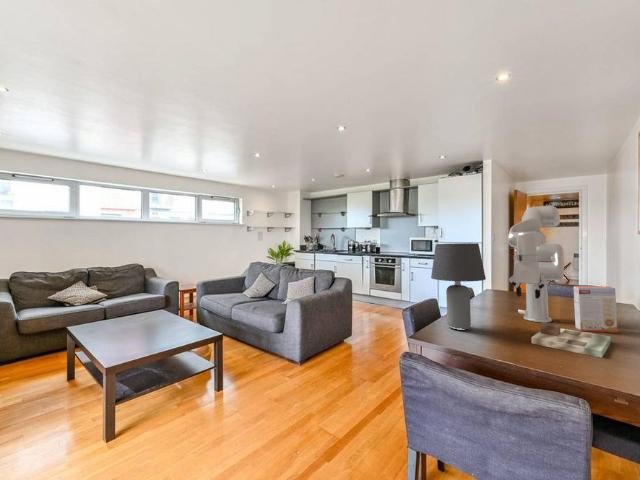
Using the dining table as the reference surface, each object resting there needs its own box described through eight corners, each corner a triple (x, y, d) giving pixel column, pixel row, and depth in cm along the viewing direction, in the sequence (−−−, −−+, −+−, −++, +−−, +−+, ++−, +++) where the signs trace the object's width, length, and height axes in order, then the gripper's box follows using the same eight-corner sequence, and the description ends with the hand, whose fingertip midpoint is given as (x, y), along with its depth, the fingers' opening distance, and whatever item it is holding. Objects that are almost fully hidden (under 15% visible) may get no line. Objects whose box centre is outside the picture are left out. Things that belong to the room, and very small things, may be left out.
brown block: (540, 333, 132) (540, 324, 132) (543, 330, 136) (543, 321, 136) (557, 336, 128) (557, 327, 128) (560, 333, 131) (560, 324, 131)
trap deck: (531, 343, 127) (531, 337, 127) (547, 331, 143) (546, 326, 143) (601, 357, 110) (601, 351, 110) (610, 342, 126) (610, 336, 126)
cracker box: (610, 329, 143) (608, 286, 143) (618, 333, 137) (616, 288, 137) (574, 327, 147) (573, 285, 147) (580, 331, 142) (579, 287, 142)
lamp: (486, 324, 156) (484, 242, 156) (488, 339, 134) (485, 243, 134) (435, 319, 168) (433, 243, 168) (429, 332, 146) (426, 244, 146)
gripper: (503, 258, 142) (504, 296, 142) (547, 259, 129) (548, 301, 129) (508, 257, 147) (509, 294, 147) (552, 258, 134) (553, 298, 134)
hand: (528, 296), depth 138 cm, fingers open, 6 cm apart
